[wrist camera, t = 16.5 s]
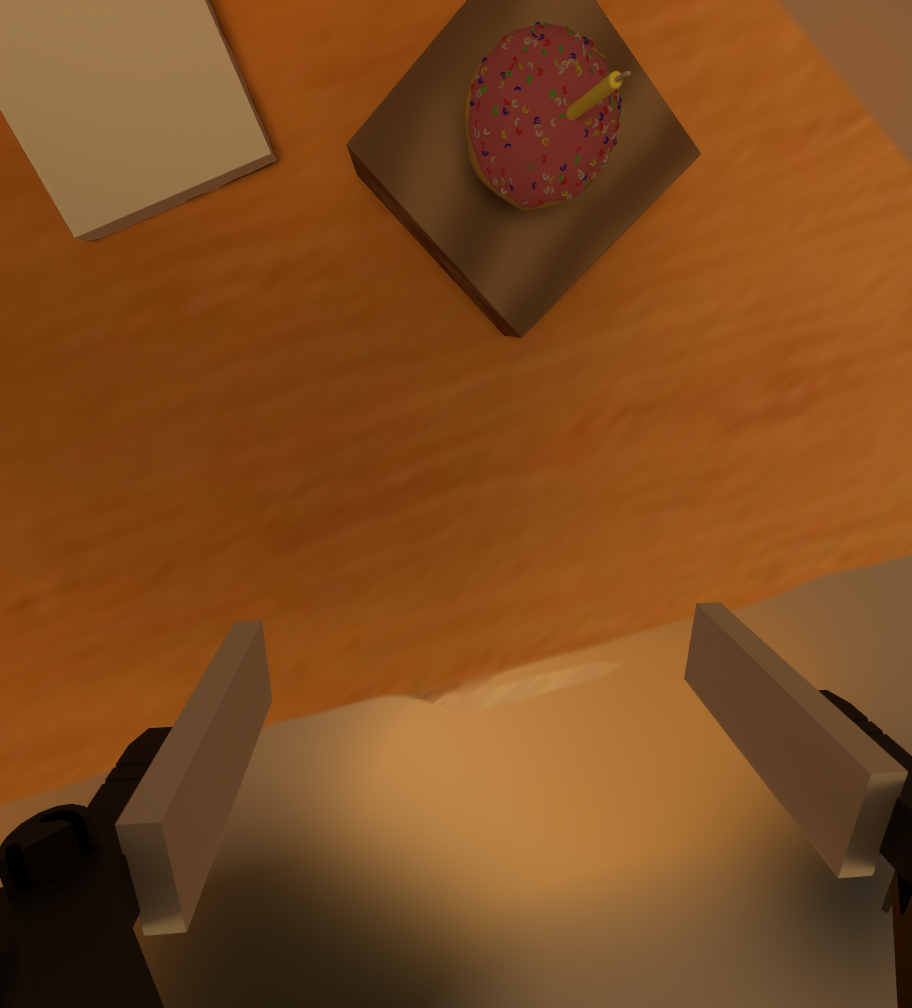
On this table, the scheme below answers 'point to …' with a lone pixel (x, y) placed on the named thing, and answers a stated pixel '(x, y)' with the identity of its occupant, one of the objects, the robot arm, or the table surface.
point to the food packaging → (126, 106)
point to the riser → (479, 211)
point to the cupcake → (541, 116)
